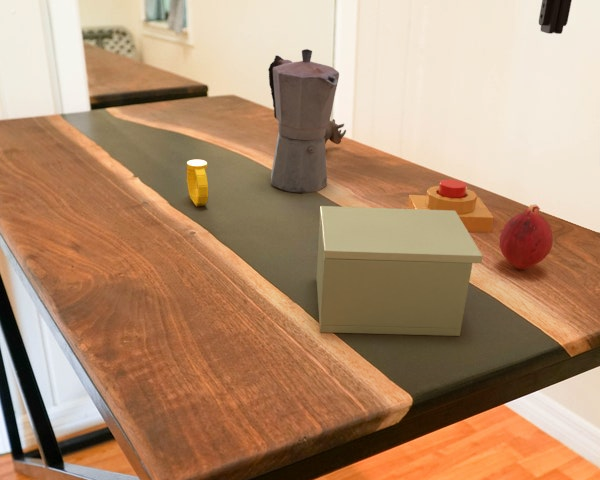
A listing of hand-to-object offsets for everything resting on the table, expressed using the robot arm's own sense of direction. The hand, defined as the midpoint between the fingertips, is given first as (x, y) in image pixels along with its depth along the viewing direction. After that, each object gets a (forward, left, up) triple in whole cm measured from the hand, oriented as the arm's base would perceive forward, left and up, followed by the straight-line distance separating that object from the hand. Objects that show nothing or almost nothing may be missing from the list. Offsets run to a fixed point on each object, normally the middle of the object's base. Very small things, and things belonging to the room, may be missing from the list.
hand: (550, 32), depth 81 cm
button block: (+10, +2, -25) cm, 26 cm away
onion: (+4, +17, -25) cm, 30 cm away
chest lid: (+21, +27, -17) cm, 38 cm away
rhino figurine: (+27, -30, -25) cm, 47 cm away
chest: (+22, +27, -25) cm, 42 cm away
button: (+10, +2, -21) cm, 23 cm away
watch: (+45, -2, -25) cm, 51 cm away
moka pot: (+31, -12, -25) cm, 41 cm away
